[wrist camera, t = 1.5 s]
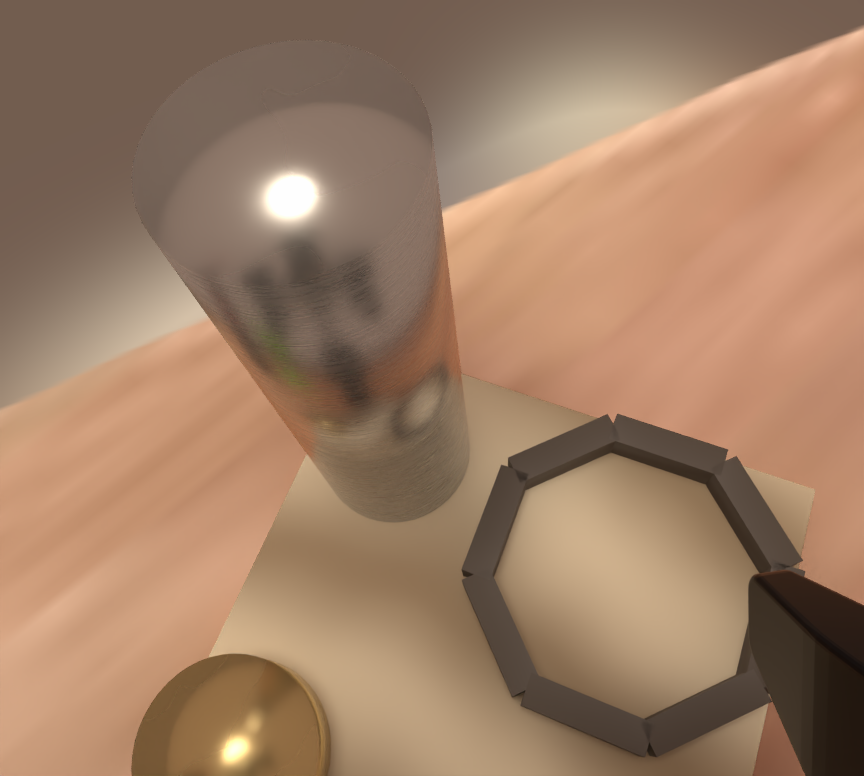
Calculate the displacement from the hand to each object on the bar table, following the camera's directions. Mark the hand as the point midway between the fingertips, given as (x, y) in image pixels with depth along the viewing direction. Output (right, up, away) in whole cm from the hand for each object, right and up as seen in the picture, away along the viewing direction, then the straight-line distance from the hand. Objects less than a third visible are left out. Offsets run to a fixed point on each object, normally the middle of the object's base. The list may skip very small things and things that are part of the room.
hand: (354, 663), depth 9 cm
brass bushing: (-4, -6, +11) cm, 14 cm away
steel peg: (0, +1, +14) cm, 14 cm away
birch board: (+2, -4, +13) cm, 14 cm away
